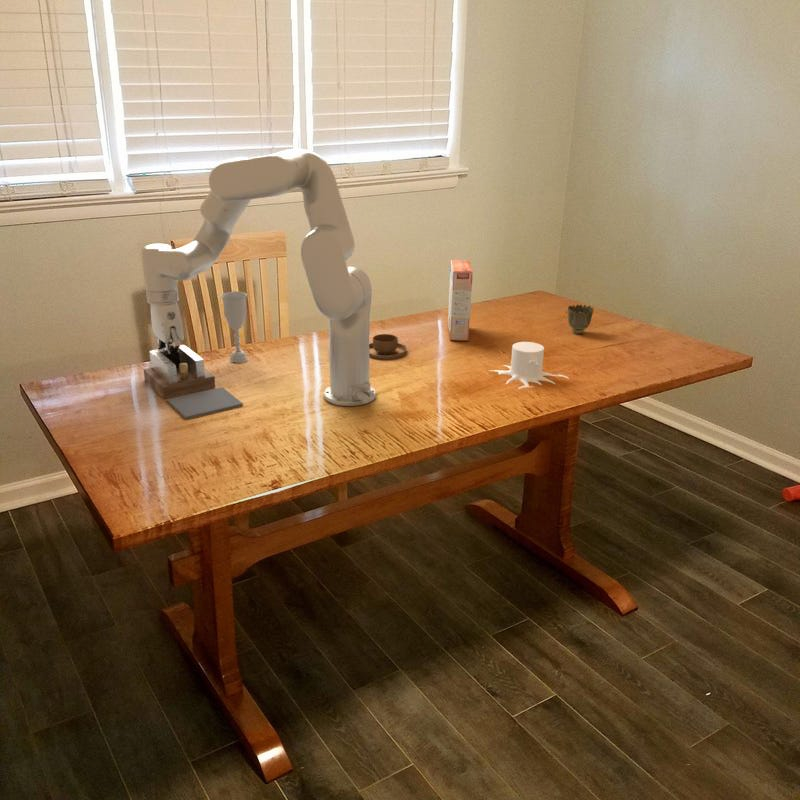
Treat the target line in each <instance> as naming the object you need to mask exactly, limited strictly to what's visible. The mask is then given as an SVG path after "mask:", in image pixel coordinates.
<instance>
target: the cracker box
mask: <svg viewBox="0 0 800 800" xmlns="http://www.w3.org/2000/svg"><path fill="white" fill-rule="evenodd" d="M449 268H450V269H449V270H450V271H449V289H448V290H449V291H448V311H447V312H448V313H447V315H448V316H447V331H448V337H449V341H461V342H466V341H467V342H468V341H469V339H470V323H471V319H470V318H471V305H472V304H471V303H472V290H473V289H472V287H473V272H474V271H473V269H472V266H471V262H470V260H467V259H462V260H461V259H459V260H458V259H451V260H450V267H449Z"/></svg>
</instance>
